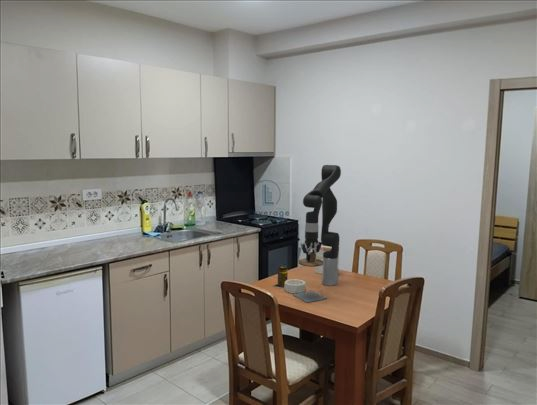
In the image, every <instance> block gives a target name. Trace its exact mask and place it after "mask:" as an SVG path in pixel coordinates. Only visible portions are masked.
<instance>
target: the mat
mask: <svg viewBox="0 0 537 405" xmlns="http://www.w3.org/2000/svg"><path fill="white" fill-rule="evenodd" d="M292 296H293V297H295V298H297V299H299V300H301V301H302V302H305V303H306V304H309V303H313V302H318V301H324V300H328V298H327V297H326V296H325V295H322V294H320V293H318V292H316V291H314V290H310V291H305V292H303V293H298V294H292Z"/></svg>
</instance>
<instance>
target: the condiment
mask: <svg viewBox="0 0 537 405" xmlns="http://www.w3.org/2000/svg"><path fill="white" fill-rule="evenodd" d="M286 280H288V267H287V266H285V265H282V266H281V265H280V266H279V267H278V271H277V283H275V284H272V286H273V287H274V288H277V289H285V288H284V284H285V281H286Z"/></svg>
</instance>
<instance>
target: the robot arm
mask: <svg viewBox="0 0 537 405" xmlns="http://www.w3.org/2000/svg"><path fill="white" fill-rule="evenodd" d="M320 175H321V176H320V177H321V181H319V182H318V183H317V184H316V185H315V186H314V188H313V189H312V190H310V191H309V192H307V193H306V194H305V196H304V197H303V200H302V205H303V207H306V208H310V209H311V208H312V209H313V211H308V212H306V213H305V225H304V242H303V243H300V247H301V250H302V253H303V254H305V258H306V259H307V261H310V252H313V253H315V259H316V253H317V252H319V250H320V247H321V245H323V246H329V247H332V248H331V250H330V251H326V252H324V253H323V274H321V275H322V278H321V283H322V284H323V285H324V286H330V287H331V286H336V285H338V284H339V269H337V265H338V251H339V252H340V234H339V232H334V231H329V229H330V225H331V222H332V220H333V219H334V218H335V217H336V214H337V213H338V201H337V198H336V196H335V194H334V192H333V191H332V189H331V187H332V186H334V184H335V183H336V182H337V181H338V180H339V179H340V178H341V175H342V169H341V167H340V166H339V165H337V164H335V165H334V164H324V165H323V166H322V168H321V174H320ZM320 211H322V212H321V215H322V216H321V217H322V218H321V220H322V221H321V222H322V223H321V233H320V234H321V235H320V241H319V240H318V239H319V228H320V227H319V214H320ZM316 245H317V246H316Z"/></svg>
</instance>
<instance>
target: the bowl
mask: <svg viewBox="0 0 537 405" xmlns="http://www.w3.org/2000/svg"><path fill="white" fill-rule="evenodd" d="M306 287H307V286H306V281H305V280H302V279H297V278H292V279H287V280H286V281H285V284H284V288H283V289H284V291H285V292H286V293H289V294H291V295H293V294H298V293H304V292H306Z"/></svg>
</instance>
